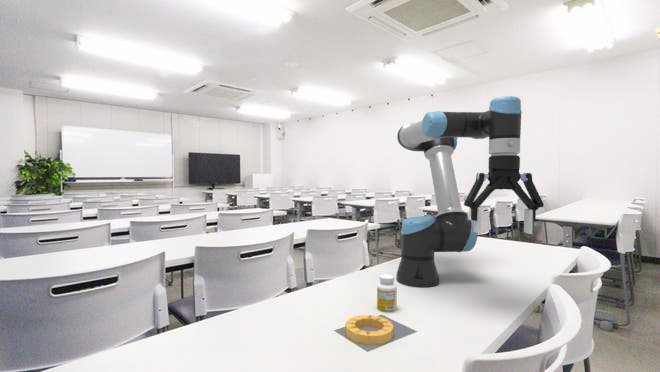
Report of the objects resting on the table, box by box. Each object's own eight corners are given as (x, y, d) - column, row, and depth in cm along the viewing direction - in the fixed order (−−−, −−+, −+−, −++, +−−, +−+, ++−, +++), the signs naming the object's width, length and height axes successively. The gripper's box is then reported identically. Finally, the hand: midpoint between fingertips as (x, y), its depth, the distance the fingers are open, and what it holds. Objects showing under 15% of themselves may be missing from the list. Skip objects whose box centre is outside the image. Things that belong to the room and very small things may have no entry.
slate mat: (333, 332, 78) (333, 330, 78) (381, 316, 88) (381, 314, 88) (367, 354, 69) (367, 351, 69) (417, 333, 78) (417, 331, 78)
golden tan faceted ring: (336, 330, 78) (336, 322, 78) (370, 319, 85) (370, 311, 85) (367, 350, 69) (367, 340, 69) (402, 335, 76) (402, 327, 76)
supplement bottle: (383, 305, 95) (383, 272, 95) (400, 310, 92) (400, 276, 92) (373, 311, 91) (373, 276, 91) (390, 316, 88) (390, 280, 88)
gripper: (462, 154, 85) (461, 234, 86) (560, 154, 84) (558, 235, 85) (452, 156, 93) (451, 230, 93) (542, 156, 91) (540, 230, 92)
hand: (502, 233), depth 89 cm, fingers open, 13 cm apart
